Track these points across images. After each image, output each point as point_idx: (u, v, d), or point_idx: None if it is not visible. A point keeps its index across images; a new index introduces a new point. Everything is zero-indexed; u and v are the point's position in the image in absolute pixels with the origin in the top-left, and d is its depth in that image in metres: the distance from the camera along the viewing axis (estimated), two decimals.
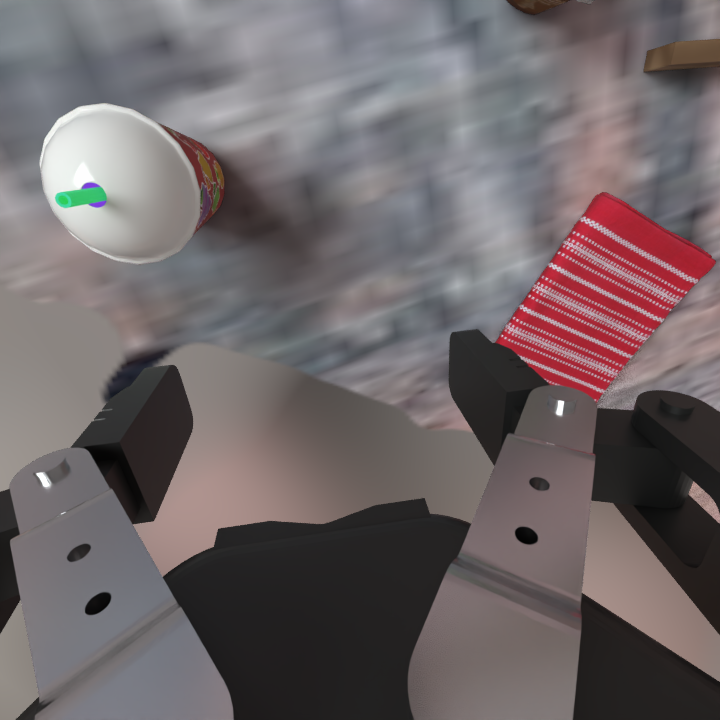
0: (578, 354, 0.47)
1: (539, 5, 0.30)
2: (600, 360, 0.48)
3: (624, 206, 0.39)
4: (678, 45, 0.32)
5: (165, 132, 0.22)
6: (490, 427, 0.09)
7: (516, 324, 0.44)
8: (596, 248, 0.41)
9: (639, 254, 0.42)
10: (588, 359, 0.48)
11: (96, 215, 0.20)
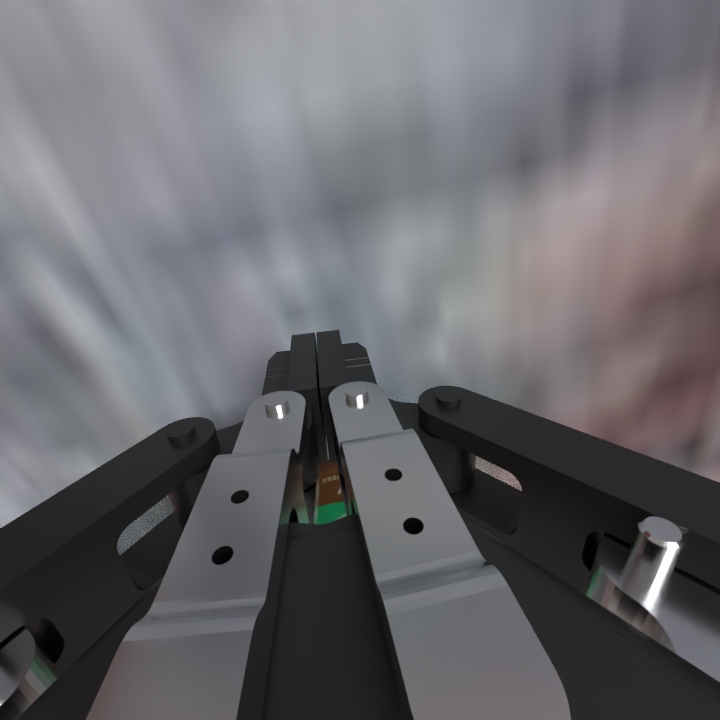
0: None
1: None
2: None
3: None
4: None
5: None
6: None
7: None
8: None
9: None
10: None
11: None
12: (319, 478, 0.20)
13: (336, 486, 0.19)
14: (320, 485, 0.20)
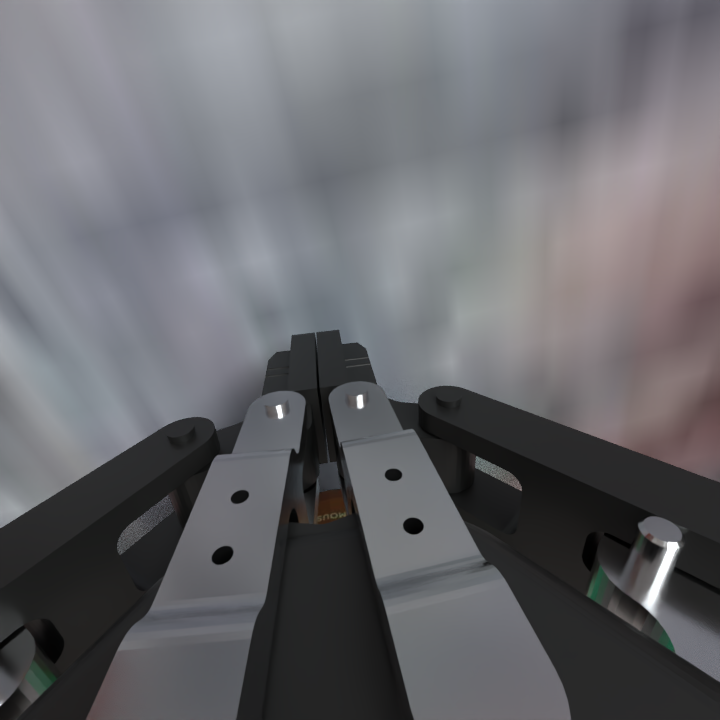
0: None
1: None
2: None
3: None
4: None
5: None
6: None
7: None
8: None
9: None
10: None
11: None
12: None
13: None
14: None
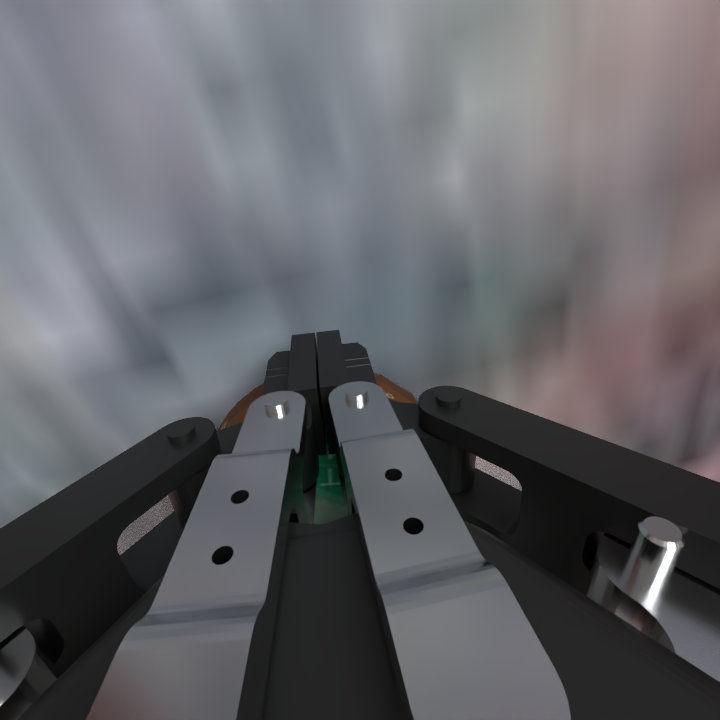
0: None
1: None
2: None
3: None
4: None
5: None
6: None
7: None
8: None
9: None
10: None
11: None
12: None
13: None
14: None
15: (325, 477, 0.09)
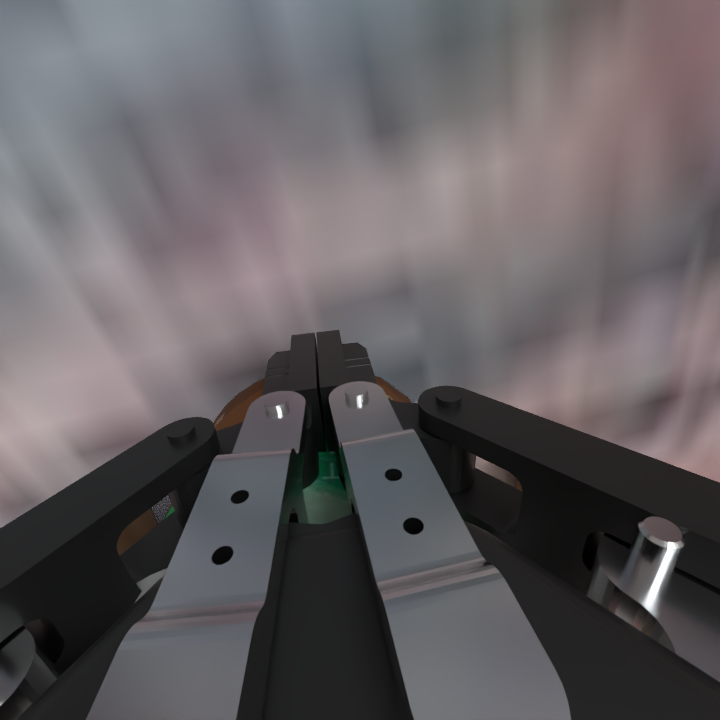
0: None
1: None
2: None
3: None
4: None
5: None
6: None
7: None
8: None
9: None
10: None
11: None
12: None
13: None
14: None
15: (327, 471, 0.09)
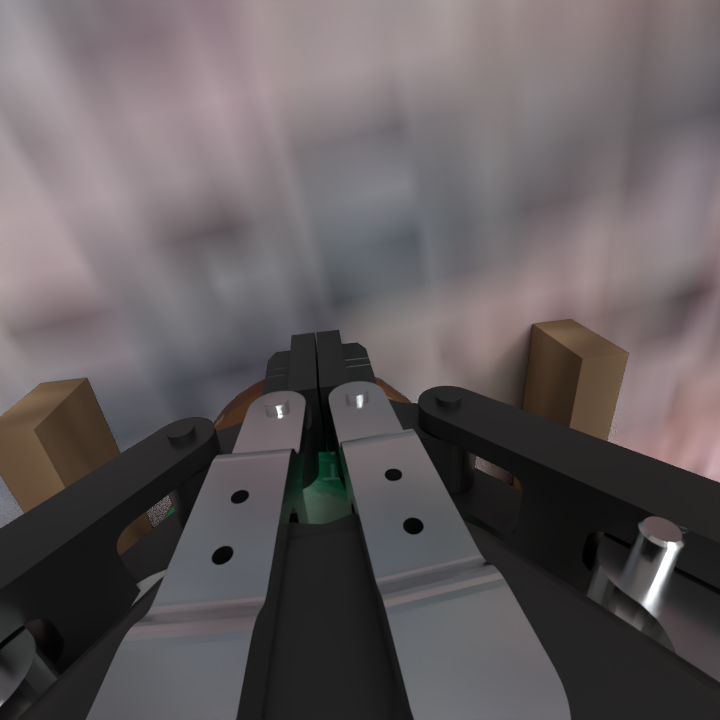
0: None
1: None
2: None
3: None
4: (29, 439, 0.11)
5: None
6: None
7: None
8: None
9: None
10: None
11: None
12: None
13: None
14: None
15: (327, 472, 0.09)
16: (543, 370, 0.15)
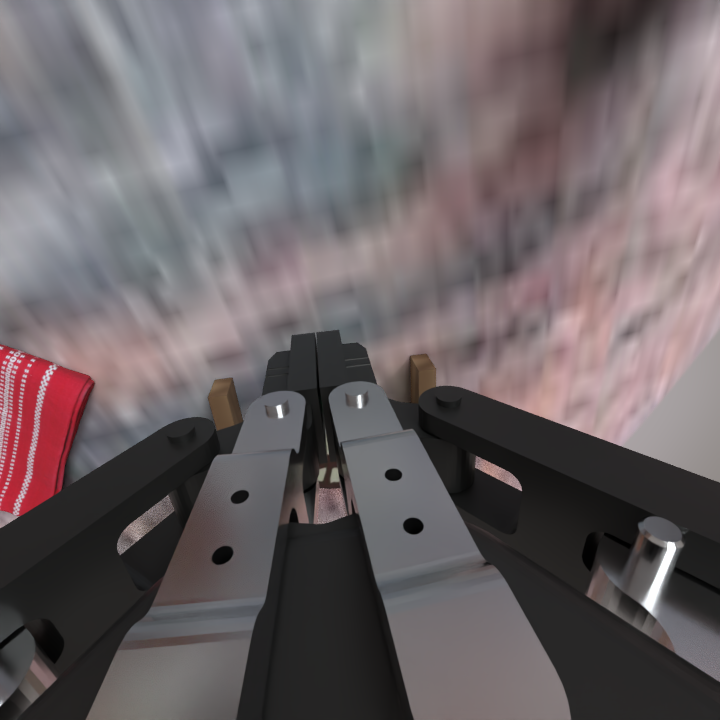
0: None
1: None
2: None
3: (73, 408, 0.32)
4: (224, 398, 0.33)
5: None
6: None
7: None
8: (18, 392, 0.32)
9: (31, 443, 0.34)
10: None
11: None
12: None
13: None
14: None
15: None
16: (413, 374, 0.36)
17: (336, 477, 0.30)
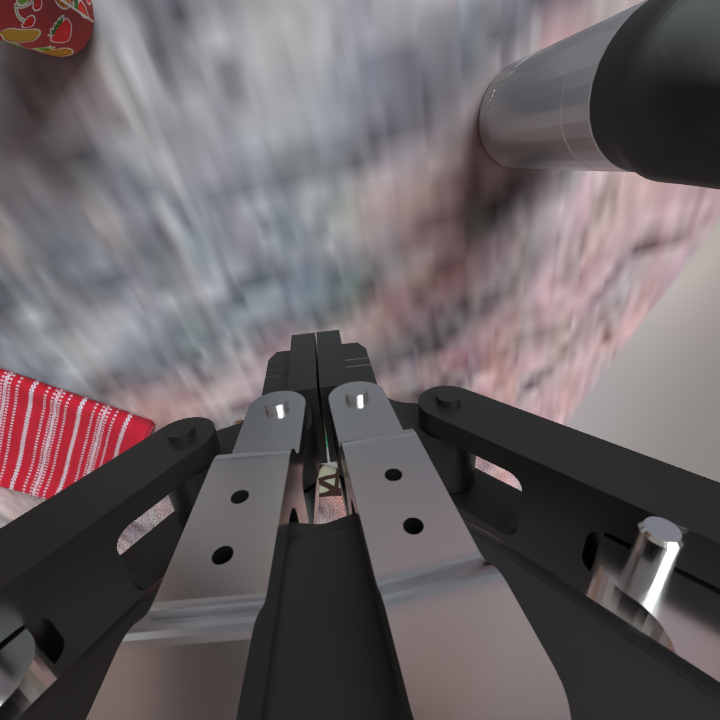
0: (0, 444, 0.48)
1: None
2: (0, 464, 0.49)
3: None
4: None
5: None
6: None
7: (14, 381, 0.44)
8: (106, 432, 0.48)
9: None
10: None
11: None
12: None
13: None
14: None
15: None
16: None
17: None
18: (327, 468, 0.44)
